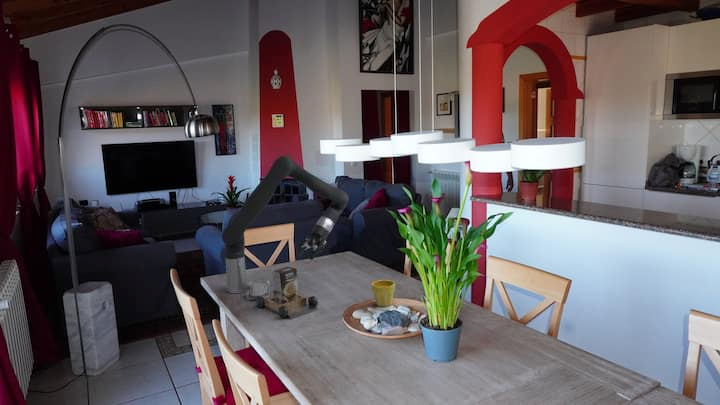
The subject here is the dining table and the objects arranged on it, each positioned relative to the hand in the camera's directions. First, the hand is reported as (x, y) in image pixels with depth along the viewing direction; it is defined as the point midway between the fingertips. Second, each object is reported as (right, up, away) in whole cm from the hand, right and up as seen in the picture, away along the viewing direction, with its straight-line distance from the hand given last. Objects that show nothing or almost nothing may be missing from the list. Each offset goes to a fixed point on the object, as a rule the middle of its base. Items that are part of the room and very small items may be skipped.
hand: (304, 257), depth 227 cm
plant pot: (+36, -20, -5) cm, 41 cm away
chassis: (-7, -22, -4) cm, 23 cm away
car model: (-24, -20, +17) cm, 35 cm away
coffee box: (-7, -21, -4) cm, 22 cm away
